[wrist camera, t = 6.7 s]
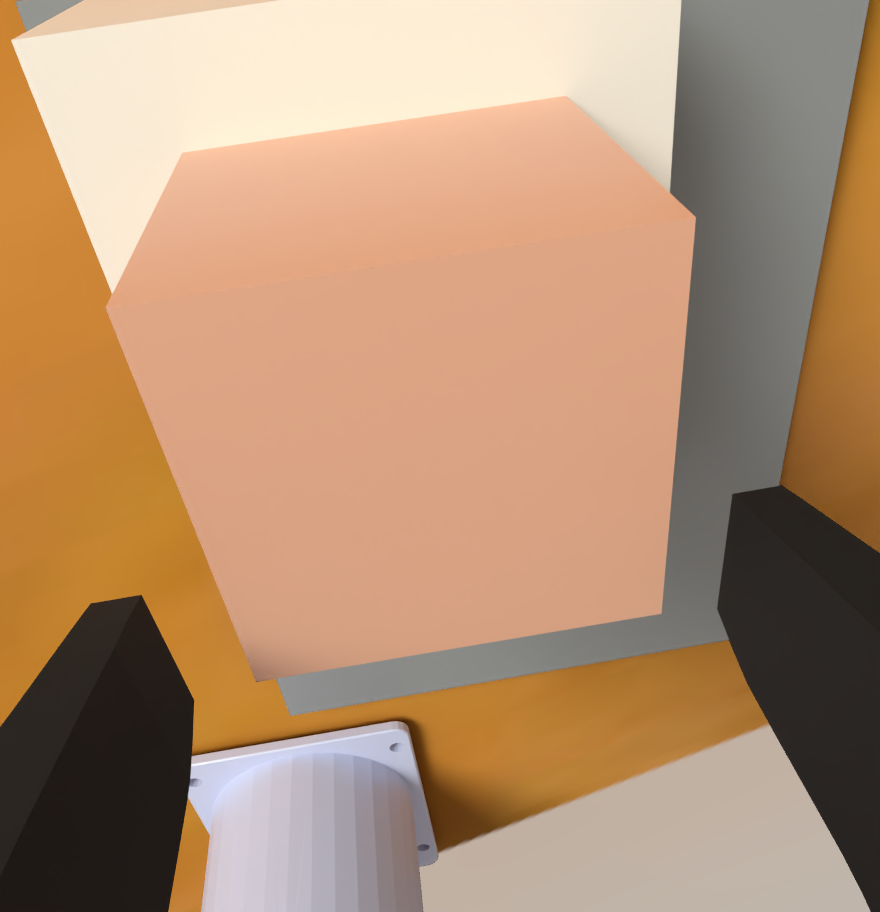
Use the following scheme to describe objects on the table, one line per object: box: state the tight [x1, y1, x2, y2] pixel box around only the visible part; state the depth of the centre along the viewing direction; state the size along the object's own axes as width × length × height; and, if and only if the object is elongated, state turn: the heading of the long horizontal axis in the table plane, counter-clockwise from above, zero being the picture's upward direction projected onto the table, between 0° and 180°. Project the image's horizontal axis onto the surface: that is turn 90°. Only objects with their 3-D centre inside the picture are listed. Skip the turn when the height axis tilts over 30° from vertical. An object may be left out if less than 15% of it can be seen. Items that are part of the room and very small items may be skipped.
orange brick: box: [106, 96, 696, 682], centre depth 10 cm, size 5×5×4 cm
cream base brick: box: [11, 0, 681, 294], centre depth 14 cm, size 8×8×5 cm
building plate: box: [15, 0, 869, 716], centre depth 20 cm, size 20×15×1 cm
